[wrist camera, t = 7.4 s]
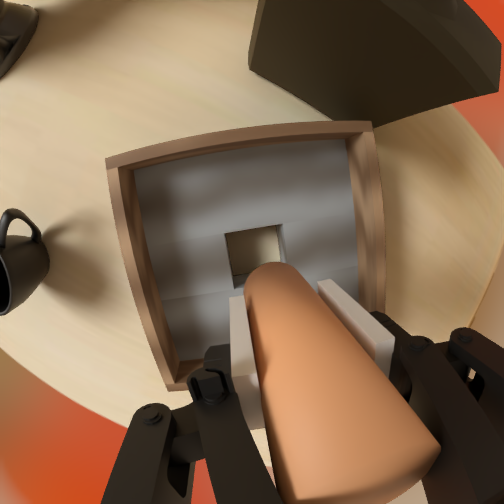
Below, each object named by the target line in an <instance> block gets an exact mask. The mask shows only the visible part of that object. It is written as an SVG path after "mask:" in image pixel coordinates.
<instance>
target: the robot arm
mask: <svg viewBox="0 0 504 504" xmlns="http://www.w3.org/2000/svg"><path fill="white" fill-rule="evenodd" d="M37 22H38V13H37V11H36V10H34V9H33V8H32V7H31V6H29V5H20V4H16V3H11V2H6V1H4V0H0V78H1V77H2V76H3V75H4V74H5V73H6V72H7V71H8V70H9V69H10V68H11V66H12V65H13V64H14V63H15V62H16V60H17V59H18V58H19V56H20V55H21V53H22V52H23V51H24V49H25V47H26V46H27V44H28V43H29V41H30V39H31V37H32V35H33V33H34V31H35V29H36V26H37ZM317 283H318V295H319V296H320V297H321V298H322V300H323V301H324V302H325V303H326V304H327V306H328V307H329V308H330V309H331V310H332V311H333V313H334V314H335V315H336V316H337V317H338V319H339V320H340V321H341V322H342V323H343V325H344V326H345V327H346V328H347V329H348V331H349V332H350V333H351V334H352V335H353V337H354V338H355V339H356V340H357V341H358V343H359V344H360V345H361V346H362V347H363V349H364V350H365V351H366V352H367V353H368V355H369V356H370V357H371V358H372V360H373V361H374V362H375V363H376V364H377V366H378V367H379V368H380V369H381V371H382V372H383V373H384V374H385V376H386V377H387V378H388V379H389V381H390V382H391V383H392V384H393V385H394V387H395V388H396V389H397V390H398V392H399V393H400V394H401V396H402V397H403V398H404V399H405V401H406V402H407V403H408V404H409V406H410V407H411V408H412V409H413V411H414V412H415V413H416V415H417V416H418V417H419V418H420V420H421V421H422V422H423V424H424V425H425V426H426V427H427V429H428V430H429V431H430V433H431V434H432V435H433V436H434V438H435V439H436V440H437V442H438V443H439V444H440V446H441V452H440V454H439V455H438V457H437V459H436V460H435V462H434V463H433V465H432V466H431V468H430V470H429V471H428V473H427V474H426V475H425V476H424V477H423V478H422V479H421V480H422V483H423V487H424V490H425V494H426V497H427V501H428V504H504V348H502V347H500V346H499V345H497V344H496V343H494V342H493V341H491V340H489V339H488V338H486V337H485V336H483V335H482V334H480V333H478V332H477V331H475V330H473V329H470V328H466V327H463V328H458V329H455V330H454V331H452V332H451V335H450V340H449V341H447V342H442V343H436V344H434V342H433V341H432V340H430V339H429V338H427V337H424V336H411V335H410V334H408V333H407V332H406V331H405V330H404V329H403V328H401V327H400V326H399V325H398V324H396V323H395V322H394V321H393V320H391V318H389V317H388V316H387V315H386V314H384V313H381V312H379V311H373V312H369V313H368V312H367V311H366V310H365V309H364V308H363V307H362V306H360V305H359V304H358V303H357V302H356V301H355V300H354V299H353V298H352V297H350V296H349V295H348V294H347V293H346V292H345V291H344V290H343V289H342V288H340V287H339V286H338V285H337V284H336V283H335V282H334V281H332V280H331V279H327V280H322V281H317ZM229 307H230V343H229V344H222V345H215V346H210V347H209V348H208V350H207V351H206V352H205V355H204V363H203V367H202V368H199V369H197V370H195V371H193V372H192V373H191V374H190V375H189V376H188V378H187V382H186V384H187V386H188V389H189V392H190V394H191V397H192V399H193V402H192V403H191V404H189V405H187V406H184V407H181V408H178V409H175V410H170V409H169V407H168V406H166V405H164V404H160V403H152V404H147V405H145V406H142V407H141V408H140V409H138V410H137V411H136V412H135V414H134V415H133V418H132V420H131V423H130V425H129V428H128V430H127V433H126V435H125V438H124V440H123V443H122V446H121V448H120V451H119V453H118V456H117V459H116V461H115V464H114V467H113V470H112V472H111V475H110V478H109V481H108V484H107V486H106V489H105V492H104V495H103V498H102V501H101V504H191V498H192V488H193V480H194V471H195V463H196V461H198V460H201V459H204V458H205V460H206V463H207V468H208V472H209V476H210V480H211V483H212V487H213V491H214V494H215V498H216V502H217V504H283V502H282V500H281V498H280V496H279V494H278V492H277V490H276V487H275V485H274V484H273V481H272V479H271V477H270V475H269V473H268V471H267V469H266V466H265V464H264V462H263V460H262V458H261V455H260V453H259V451H258V449H257V446H256V444H255V442H254V439H253V437H252V435H251V432H250V430H254V429H261V428H265V423H264V418H263V412H262V406H261V393H260V387H259V382H258V376H257V370H256V364H255V358H254V352H253V346H252V340H251V334H250V328H249V322H248V316H247V310H246V305H245V299H244V295H242V296H236V297H230V298H229ZM471 368H472V369H473V370H474V371H476V373H475V376H474V379H470V378H469V377H468V376H469V373H470V370H471Z"/></svg>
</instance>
